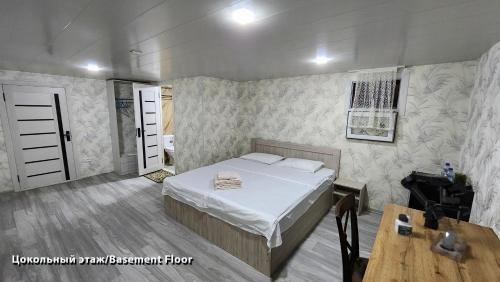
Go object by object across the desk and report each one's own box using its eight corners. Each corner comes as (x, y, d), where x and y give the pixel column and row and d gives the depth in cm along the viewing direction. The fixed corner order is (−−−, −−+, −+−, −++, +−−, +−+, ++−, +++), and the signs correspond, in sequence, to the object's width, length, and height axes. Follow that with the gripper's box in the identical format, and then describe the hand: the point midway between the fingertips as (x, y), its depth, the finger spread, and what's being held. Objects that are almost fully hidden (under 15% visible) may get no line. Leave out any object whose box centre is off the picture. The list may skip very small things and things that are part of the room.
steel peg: (440, 251, 115) (443, 231, 113) (442, 248, 117) (445, 229, 115) (451, 256, 111) (455, 235, 109) (453, 252, 114) (456, 232, 112)
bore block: (429, 250, 116) (430, 246, 116) (439, 235, 129) (440, 232, 129) (459, 262, 107) (460, 258, 106) (467, 245, 120) (467, 241, 119)
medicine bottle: (397, 234, 130) (399, 217, 128) (394, 228, 137) (396, 211, 135) (411, 237, 127) (413, 219, 125) (407, 231, 134) (409, 213, 132)
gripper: (428, 187, 127) (428, 212, 120) (472, 194, 116) (474, 222, 109) (425, 194, 135) (425, 218, 128) (466, 202, 124) (468, 228, 117)
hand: (447, 221), depth 120 cm, fingers open, 9 cm apart
